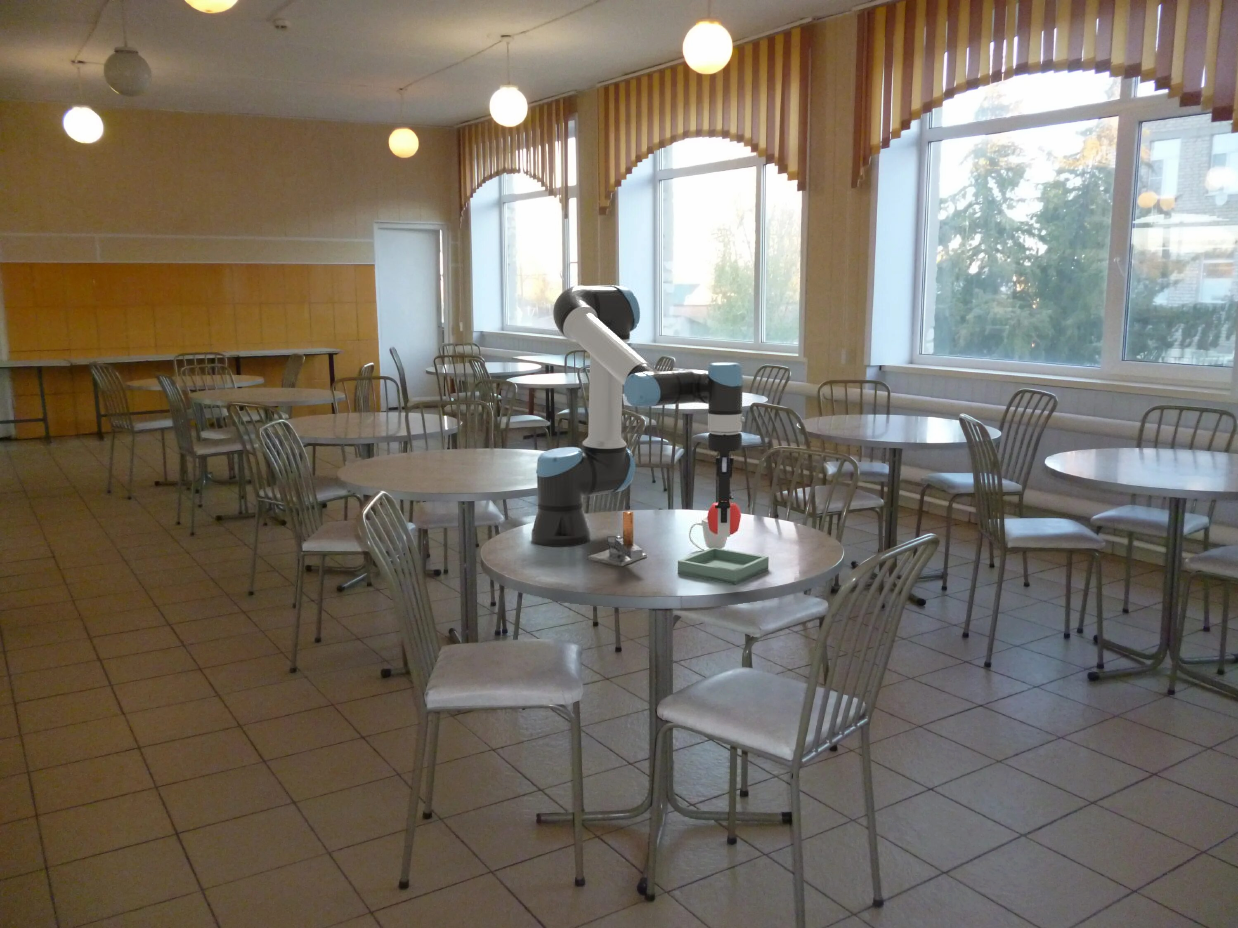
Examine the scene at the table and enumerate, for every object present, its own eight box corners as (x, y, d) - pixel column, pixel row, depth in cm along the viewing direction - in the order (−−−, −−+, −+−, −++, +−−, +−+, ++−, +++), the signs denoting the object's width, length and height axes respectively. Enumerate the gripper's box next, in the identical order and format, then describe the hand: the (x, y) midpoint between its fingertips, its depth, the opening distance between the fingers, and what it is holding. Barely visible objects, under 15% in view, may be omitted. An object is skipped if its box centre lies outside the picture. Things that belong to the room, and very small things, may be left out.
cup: (729, 554, 244) (730, 522, 242) (688, 554, 244) (688, 521, 243) (729, 547, 250) (729, 516, 249) (689, 546, 251) (689, 515, 250)
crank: (604, 542, 242) (604, 504, 240) (624, 540, 243) (624, 502, 242) (626, 559, 226) (626, 518, 225) (647, 557, 228) (647, 516, 226)
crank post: (588, 559, 240) (588, 546, 239) (613, 550, 248) (613, 538, 247) (621, 566, 234) (621, 552, 233) (646, 557, 242) (646, 544, 241)
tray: (677, 573, 228) (677, 560, 227) (712, 559, 239) (712, 547, 239) (734, 584, 219) (735, 571, 218) (768, 569, 230) (768, 556, 230)
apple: (717, 527, 233) (717, 493, 232) (747, 531, 228) (748, 497, 227) (700, 534, 226) (700, 499, 225) (731, 539, 222) (731, 503, 221)
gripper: (741, 438, 213) (740, 543, 217) (742, 426, 233) (741, 522, 237) (706, 438, 214) (705, 542, 218) (709, 426, 234) (709, 521, 238)
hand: (724, 531), depth 227 cm, fingers closed on apple, 8 cm apart
